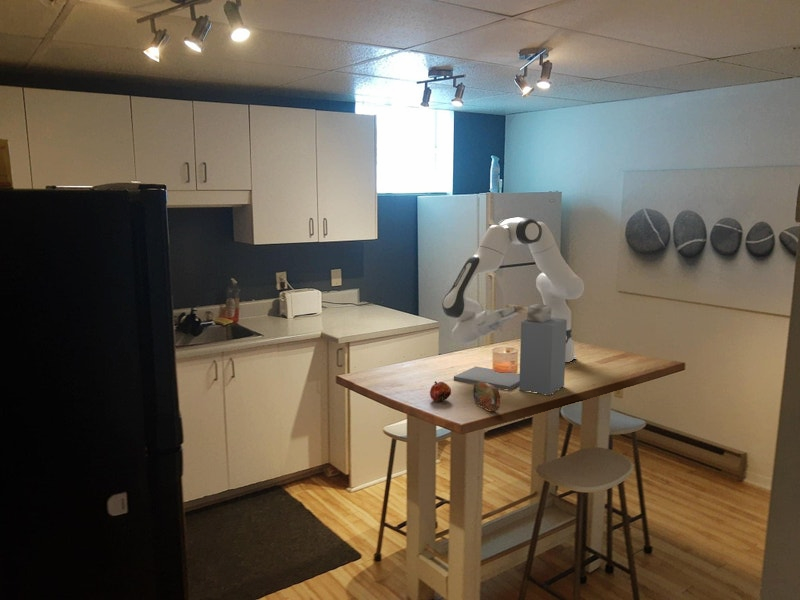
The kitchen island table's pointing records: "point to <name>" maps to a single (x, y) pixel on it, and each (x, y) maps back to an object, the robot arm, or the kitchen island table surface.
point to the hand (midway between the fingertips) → (516, 307)
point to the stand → (542, 355)
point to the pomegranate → (440, 391)
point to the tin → (486, 396)
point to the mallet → (534, 312)
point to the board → (489, 377)
